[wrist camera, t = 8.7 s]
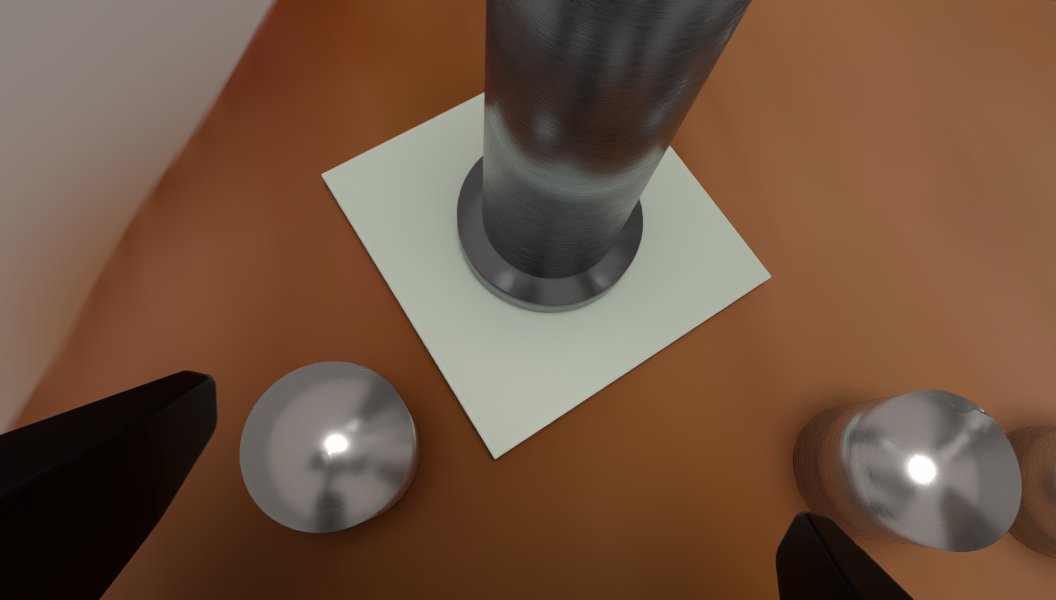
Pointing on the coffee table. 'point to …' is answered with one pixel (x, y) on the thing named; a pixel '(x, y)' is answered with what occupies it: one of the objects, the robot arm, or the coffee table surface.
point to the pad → (518, 334)
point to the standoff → (578, 137)
